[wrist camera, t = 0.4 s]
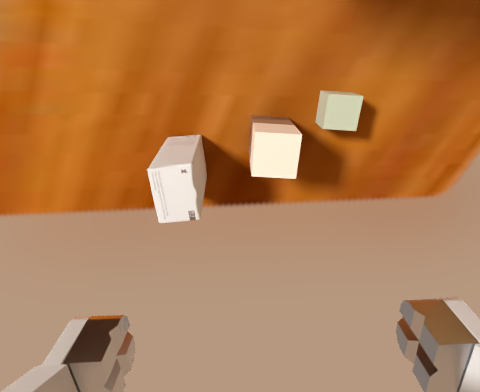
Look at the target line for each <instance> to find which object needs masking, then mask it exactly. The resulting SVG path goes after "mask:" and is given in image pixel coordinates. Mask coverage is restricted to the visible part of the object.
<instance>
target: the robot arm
mask: <svg viewBox="0 0 480 392" xmlns="http://www.w3.org/2000/svg"><path fill="white" fill-rule="evenodd" d="M400 312H401V314H402V316H403V318H402V319H401V320H400V321H398V323H397V329H396V333H397V340H398V343H399V346H400V349H401V351H402V353H403V354H404V356H405V357H406V358H407V359H409V360H410V361H411V362H413V363H414V366H413V373H414V374H415V376H416V378H417V380H418V381H419V383H420V385H421V387H422V389H423V390H424V392H480V319H479V318H478V317H477V316H476V315H475V314H474V313H473V311H472V310H471V309H470V308H469V307H468V306H467V305H466V304H465V303H464V302H463V301H462V300H461V299H459V298H457V297H453V298H439V299H423V300H406V301H403V302H402V304H401V307H400ZM129 326H130V324H129V321H128V318H127V316H124V315H121V316H91V317H75V318H73V319H72V320H71V321H70V322H69V323H68V325H67V326H66V328H65V329H64V331H63V333H62V334H61V336H60V337H59V339H58V340H57V342H56V344H55V345H54V347H53V348H52V350H51V351H50V353H49V355H48V356H47V358H46V359H45V361H44V362H43V364H42V366H35V367H34V368H33V369H31V370H30V371H28V372H27V373H26V374H24V375H23V376H22V377H20V378H19V379H18V380H16V381H15V382H13V383H12V384H11V385H9V386H8V387H7V388H5V389H4V390H3V391H1V392H123V391H124V388H125V381H124V378H123V377H124V376H125V375H126V374H127V373H128V372H129V371H130V370H131V367H132V364H133V361H134V353H135V343H134V339H133V336H132V335H131V334H130V333H129V332H127V331H128V328H129Z"/></svg>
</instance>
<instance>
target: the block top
mask: <svg viewBox="0 0 480 392" xmlns="http://www.w3.org/2000/svg"><path fill="white" fill-rule="evenodd" d="M301 140H302V134H301V133H300V131H299V130H298V129H297V128H296V126H295V125H283V124H267V123H253V130H252V142H251V155H250V168H251V176H255V177H272V178H289V179H296V175H297V168H298V161H299V154H300V147H301Z"/></svg>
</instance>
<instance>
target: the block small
mask: <svg viewBox="0 0 480 392" xmlns="http://www.w3.org/2000/svg"><path fill="white" fill-rule="evenodd" d="M363 97H364V96H362V95H358V94H355V93H351V92H336V91H322V90H321V91H320V98H319V104H318V110H317V116H316V123H317V124H318V125H319V126H320V127H321V128H322V129H331V130H347V131H356V130H357V125H358V120H359V115H360V111H361V106H362V101H363Z"/></svg>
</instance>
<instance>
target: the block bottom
mask: <svg viewBox="0 0 480 392" xmlns="http://www.w3.org/2000/svg"><path fill="white" fill-rule="evenodd" d="M253 123H267V124H283V125H294V124H293V123H292V122H291V120H290V119H289V118H284V117H268V116H253V115H251V128H250V140H249V159H250V155H251V142H252V130H253Z"/></svg>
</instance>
